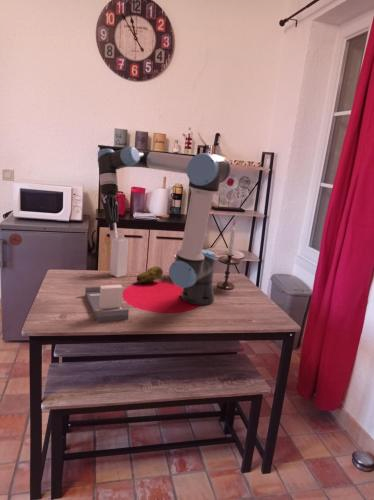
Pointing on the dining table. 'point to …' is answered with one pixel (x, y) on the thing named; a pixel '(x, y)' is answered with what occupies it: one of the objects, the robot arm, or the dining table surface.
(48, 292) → the dining table surface
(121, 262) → the milk
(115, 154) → the robot arm
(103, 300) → the fader knob
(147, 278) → the potato
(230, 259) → the candlestick
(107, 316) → the fader deck
